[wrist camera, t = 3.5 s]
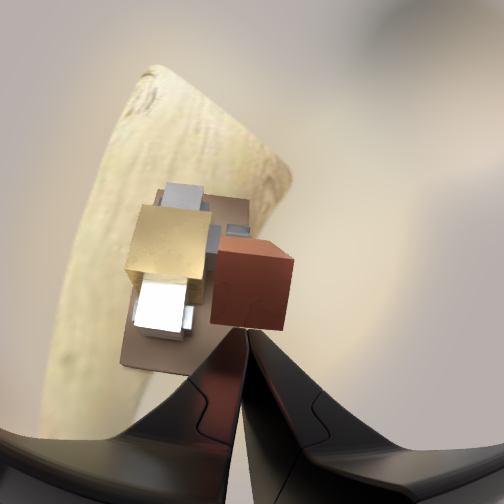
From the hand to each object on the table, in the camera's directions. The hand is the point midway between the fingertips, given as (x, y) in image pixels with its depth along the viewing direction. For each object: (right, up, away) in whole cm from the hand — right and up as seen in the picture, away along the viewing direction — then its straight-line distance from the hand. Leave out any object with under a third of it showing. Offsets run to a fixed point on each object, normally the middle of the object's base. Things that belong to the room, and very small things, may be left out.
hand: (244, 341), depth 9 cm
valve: (-5, +1, +13) cm, 14 cm away
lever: (-1, +3, +8) cm, 9 cm away
